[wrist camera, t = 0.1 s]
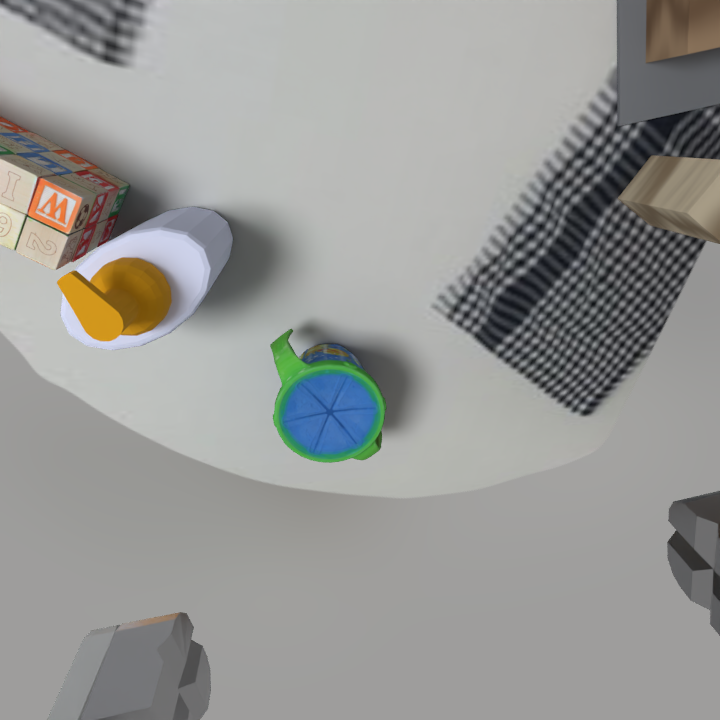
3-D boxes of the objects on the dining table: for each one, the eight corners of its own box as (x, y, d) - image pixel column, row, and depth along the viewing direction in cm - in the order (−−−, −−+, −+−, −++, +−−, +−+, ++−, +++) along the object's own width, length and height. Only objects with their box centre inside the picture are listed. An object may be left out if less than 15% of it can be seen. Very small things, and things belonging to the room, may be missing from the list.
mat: (616, -73, 46) (619, -75, 46) (741, -101, 46) (744, -103, 46) (617, 126, 52) (619, 126, 52) (726, 101, 52) (729, 101, 52)
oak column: (617, 198, 55) (687, 213, 45) (651, 155, 54) (731, 160, 44) (650, 225, 57) (724, 245, 47) (684, 183, 55) (768, 195, 45)
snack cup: (246, 341, 58) (234, 381, 48) (329, 290, 56) (333, 321, 47) (324, 444, 63) (327, 498, 54) (401, 401, 62) (417, 448, 53)
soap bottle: (202, 183, 51) (143, 212, 32) (253, 257, 54) (224, 322, 35) (92, 256, 53) (-25, 323, 34) (147, 323, 56) (67, 418, 37)
